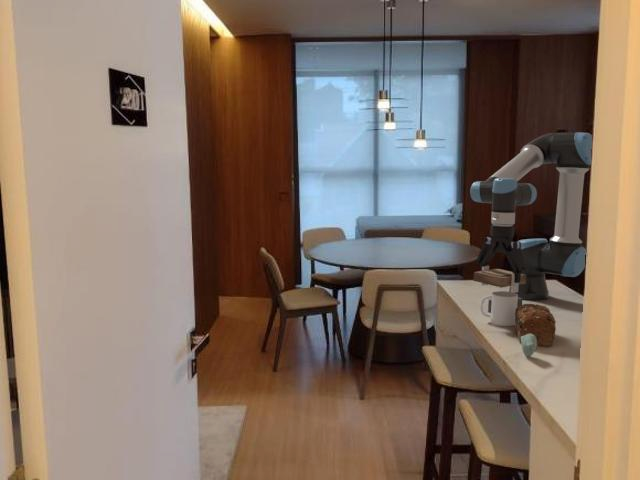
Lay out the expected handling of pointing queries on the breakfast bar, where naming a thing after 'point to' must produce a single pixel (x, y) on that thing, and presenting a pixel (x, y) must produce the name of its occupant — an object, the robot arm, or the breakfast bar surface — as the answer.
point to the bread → (535, 323)
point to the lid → (497, 277)
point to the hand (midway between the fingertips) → (499, 288)
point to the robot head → (528, 344)
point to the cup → (501, 308)
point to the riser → (519, 303)
